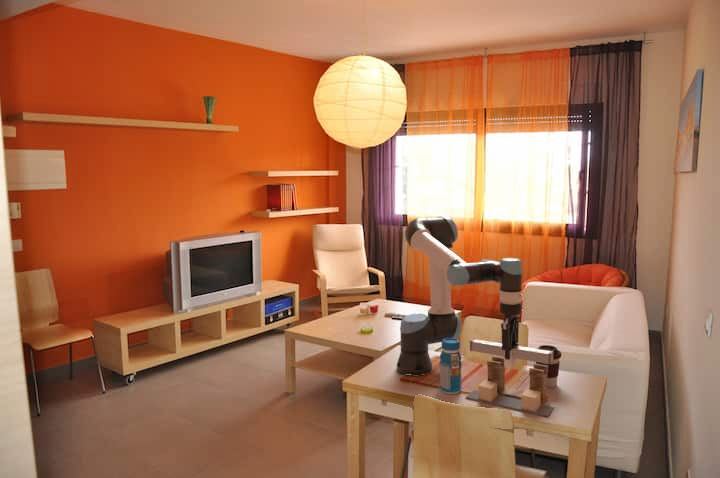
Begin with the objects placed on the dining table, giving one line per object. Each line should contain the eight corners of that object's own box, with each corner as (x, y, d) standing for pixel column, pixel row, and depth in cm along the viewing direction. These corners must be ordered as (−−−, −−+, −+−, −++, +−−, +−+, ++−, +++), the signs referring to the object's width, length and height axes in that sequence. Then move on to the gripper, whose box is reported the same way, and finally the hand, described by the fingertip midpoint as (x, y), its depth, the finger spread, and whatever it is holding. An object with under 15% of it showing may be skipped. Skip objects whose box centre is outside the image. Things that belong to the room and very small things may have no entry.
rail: (469, 350, 205) (469, 340, 204) (473, 347, 208) (473, 338, 208) (550, 364, 189) (550, 353, 188) (553, 361, 192) (553, 350, 192)
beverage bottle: (437, 393, 211) (437, 342, 209) (442, 384, 219) (442, 336, 216) (459, 396, 208) (459, 344, 206) (463, 387, 216) (463, 338, 213)
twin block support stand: (465, 398, 206) (465, 384, 205) (473, 391, 213) (474, 377, 212) (547, 417, 190) (548, 401, 189) (553, 408, 196) (554, 393, 195)
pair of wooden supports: (485, 391, 212) (486, 360, 210) (491, 386, 217) (491, 355, 215) (543, 404, 200) (544, 371, 198) (548, 398, 205) (549, 366, 203)
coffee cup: (531, 386, 216) (532, 349, 214) (536, 378, 225) (537, 342, 223) (558, 391, 211) (559, 353, 209) (561, 382, 220) (563, 345, 218)
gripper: (513, 308, 187) (512, 374, 190) (528, 298, 201) (527, 360, 204) (492, 305, 191) (491, 370, 194) (508, 296, 205) (507, 357, 208)
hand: (509, 365), depth 199 cm, fingers closed on rail, 3 cm apart
